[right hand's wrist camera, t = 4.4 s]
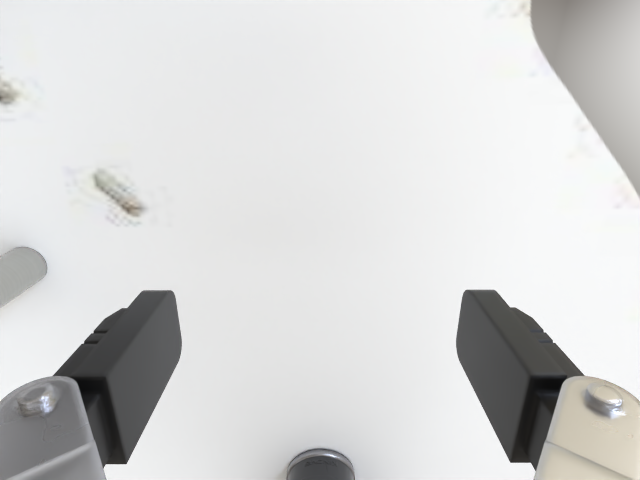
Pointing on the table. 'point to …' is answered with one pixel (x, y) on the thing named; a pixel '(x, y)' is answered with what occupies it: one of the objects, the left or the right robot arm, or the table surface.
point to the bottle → (19, 272)
